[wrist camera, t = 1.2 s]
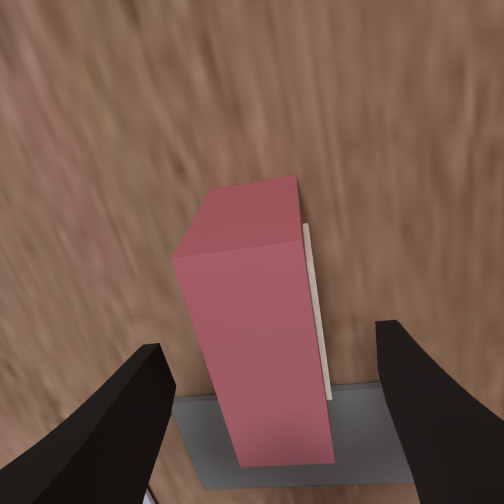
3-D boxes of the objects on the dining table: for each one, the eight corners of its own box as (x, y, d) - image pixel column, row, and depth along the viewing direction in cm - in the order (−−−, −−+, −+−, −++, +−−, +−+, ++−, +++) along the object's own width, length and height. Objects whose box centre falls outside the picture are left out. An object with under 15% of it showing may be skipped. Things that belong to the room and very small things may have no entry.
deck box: (252, 354, 19) (240, 467, 14) (211, 188, 15) (171, 258, 10) (325, 347, 19) (340, 463, 13) (300, 173, 15) (310, 238, 9)
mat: (205, 483, 25) (204, 489, 24) (170, 398, 21) (168, 403, 21) (428, 475, 22) (431, 481, 22) (431, 378, 19) (434, 384, 18)
